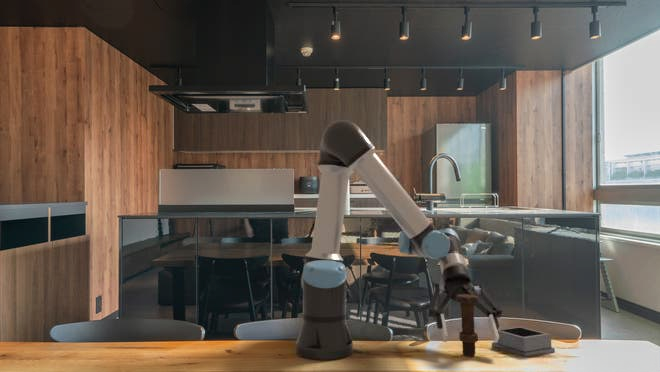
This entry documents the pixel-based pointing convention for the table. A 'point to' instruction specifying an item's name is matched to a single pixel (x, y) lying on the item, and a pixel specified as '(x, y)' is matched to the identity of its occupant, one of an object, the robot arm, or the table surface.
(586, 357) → the table surface
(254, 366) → the table surface
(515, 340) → the rectangular open box
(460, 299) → the brown flared column
